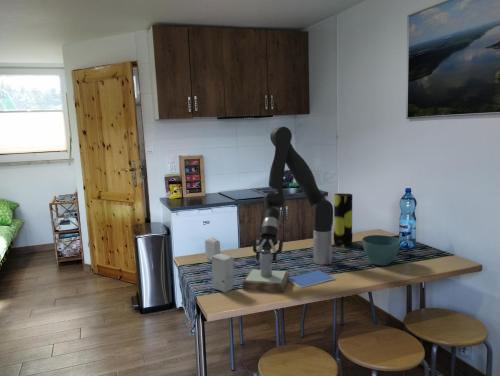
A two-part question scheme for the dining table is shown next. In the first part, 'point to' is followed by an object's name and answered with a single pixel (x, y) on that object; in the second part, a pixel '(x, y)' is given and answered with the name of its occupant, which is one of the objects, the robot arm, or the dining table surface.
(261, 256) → the ceramic jar
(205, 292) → the dining table surface
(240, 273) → the dining table surface
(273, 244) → the robot arm
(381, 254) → the plant pot
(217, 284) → the skincare box
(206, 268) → the dining table surface
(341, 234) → the container
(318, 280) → the blue notebook
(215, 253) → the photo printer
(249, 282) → the plinth
